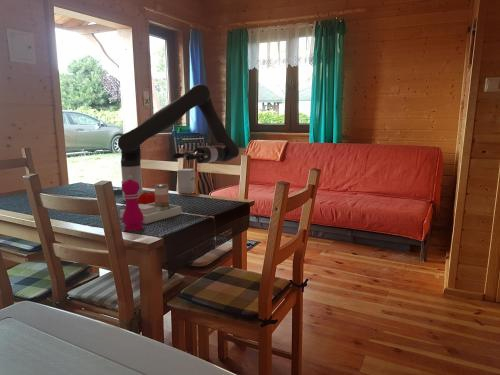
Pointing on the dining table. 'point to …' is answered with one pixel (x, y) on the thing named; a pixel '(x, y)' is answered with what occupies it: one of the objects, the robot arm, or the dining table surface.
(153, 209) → the off-white tapered piece
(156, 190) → the clear lidded jar
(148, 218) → the tote
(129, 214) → the pepper mill
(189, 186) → the supplement box
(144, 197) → the tomato
